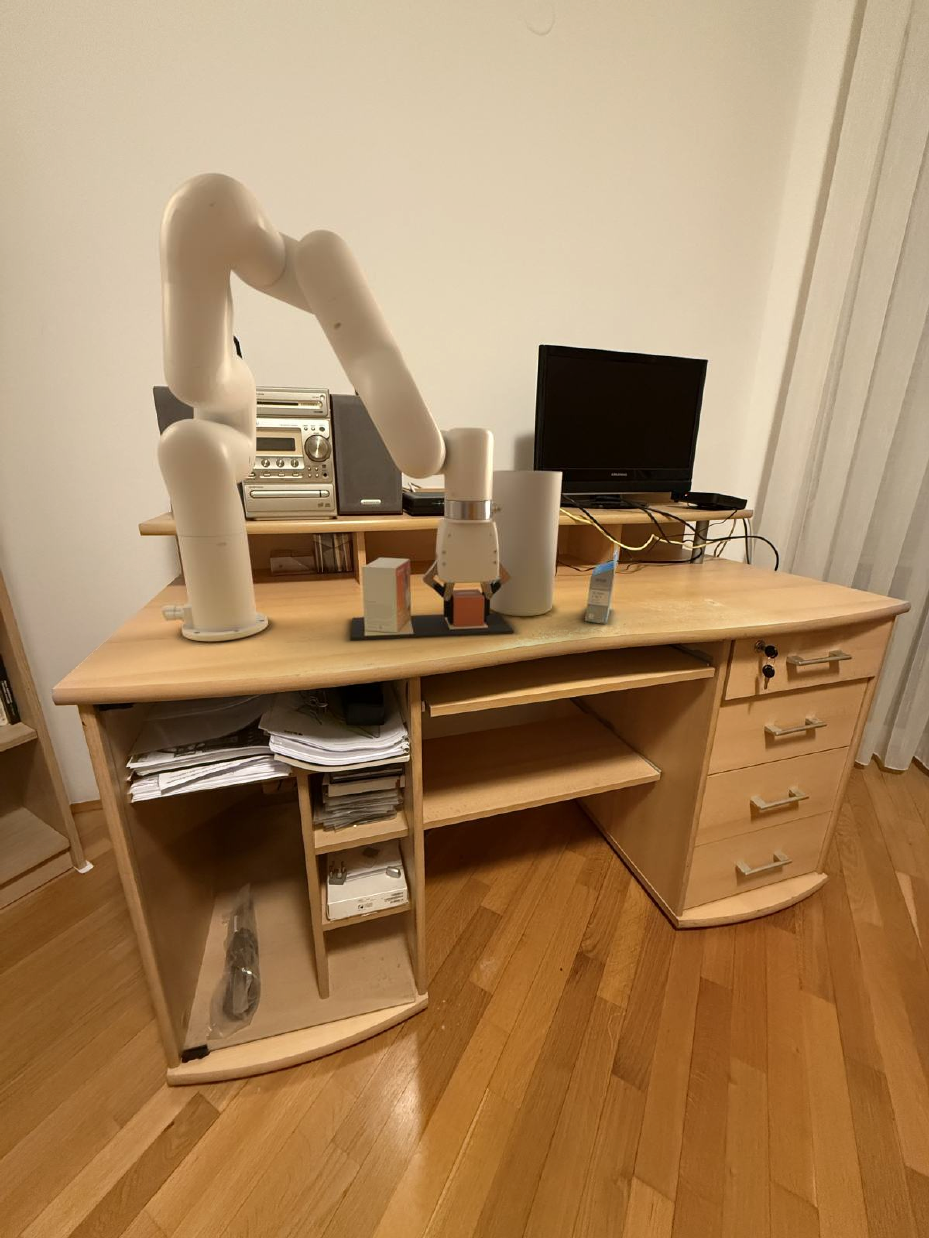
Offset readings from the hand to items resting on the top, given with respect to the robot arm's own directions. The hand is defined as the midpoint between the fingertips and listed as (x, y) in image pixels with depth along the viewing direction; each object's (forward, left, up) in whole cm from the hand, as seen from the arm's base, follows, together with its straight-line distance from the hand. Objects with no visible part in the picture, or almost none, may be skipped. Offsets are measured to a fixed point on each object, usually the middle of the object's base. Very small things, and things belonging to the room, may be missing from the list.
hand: (466, 619), depth 83 cm
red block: (0, 0, 0) cm, 0 cm away
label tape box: (+25, +2, -1) cm, 25 cm away
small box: (-13, 0, -1) cm, 13 cm away
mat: (-6, 0, -1) cm, 6 cm away
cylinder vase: (+12, +9, -1) cm, 15 cm away
